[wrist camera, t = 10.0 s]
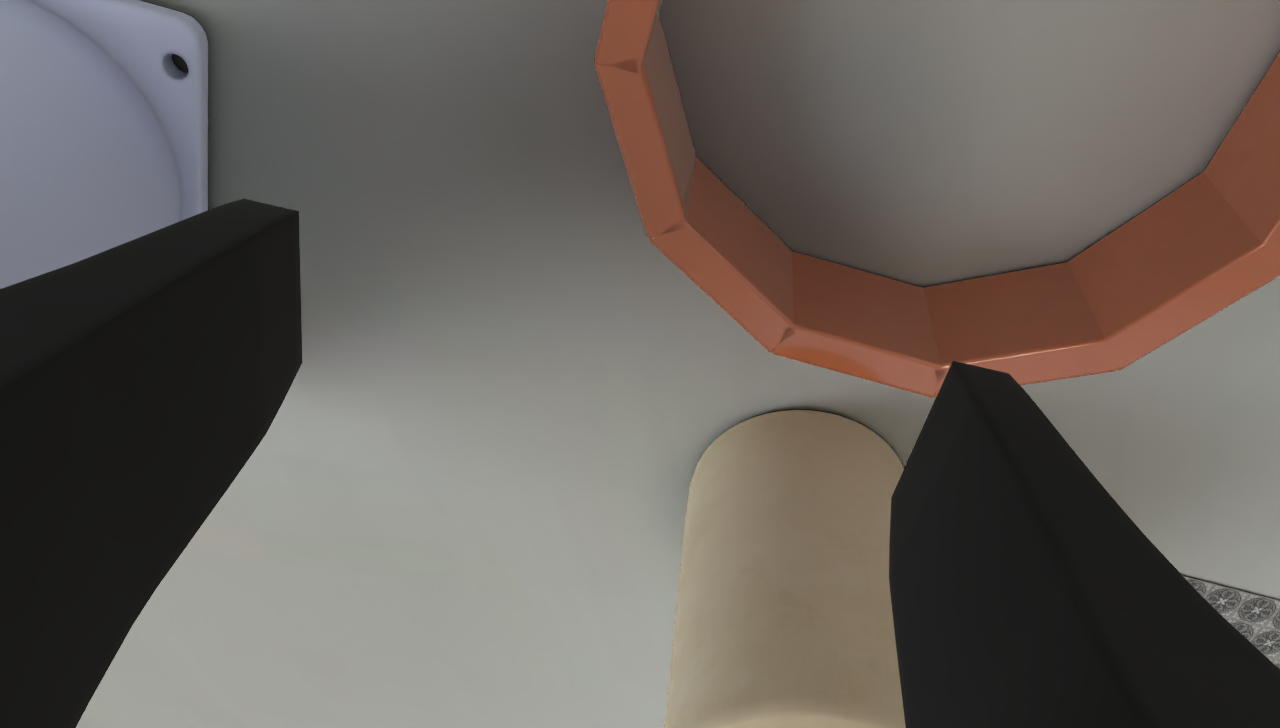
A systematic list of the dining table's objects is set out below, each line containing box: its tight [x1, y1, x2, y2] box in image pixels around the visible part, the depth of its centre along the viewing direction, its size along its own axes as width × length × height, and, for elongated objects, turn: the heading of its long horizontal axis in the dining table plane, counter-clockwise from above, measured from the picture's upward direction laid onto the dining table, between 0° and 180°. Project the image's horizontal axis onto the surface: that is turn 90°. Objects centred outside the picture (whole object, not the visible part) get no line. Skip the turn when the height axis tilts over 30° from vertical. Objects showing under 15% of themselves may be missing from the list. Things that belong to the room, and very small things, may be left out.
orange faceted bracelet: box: [594, 0, 1280, 397], centre depth 18 cm, size 13×13×3 cm
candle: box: [664, 410, 906, 728], centre depth 22 cm, size 6×6×10 cm
